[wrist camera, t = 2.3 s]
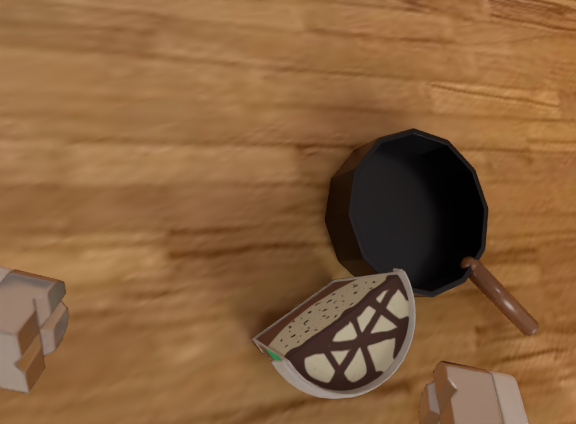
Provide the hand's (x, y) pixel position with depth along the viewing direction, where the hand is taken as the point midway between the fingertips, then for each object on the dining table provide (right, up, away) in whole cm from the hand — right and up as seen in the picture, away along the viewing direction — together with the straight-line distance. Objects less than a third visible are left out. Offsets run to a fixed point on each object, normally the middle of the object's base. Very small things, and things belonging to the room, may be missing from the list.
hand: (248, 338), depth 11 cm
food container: (+3, -9, +35) cm, 36 cm away
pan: (+15, -1, +41) cm, 43 cm away
